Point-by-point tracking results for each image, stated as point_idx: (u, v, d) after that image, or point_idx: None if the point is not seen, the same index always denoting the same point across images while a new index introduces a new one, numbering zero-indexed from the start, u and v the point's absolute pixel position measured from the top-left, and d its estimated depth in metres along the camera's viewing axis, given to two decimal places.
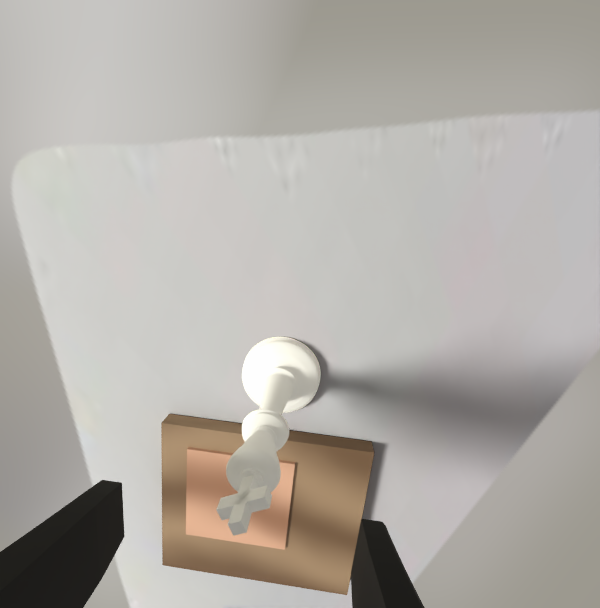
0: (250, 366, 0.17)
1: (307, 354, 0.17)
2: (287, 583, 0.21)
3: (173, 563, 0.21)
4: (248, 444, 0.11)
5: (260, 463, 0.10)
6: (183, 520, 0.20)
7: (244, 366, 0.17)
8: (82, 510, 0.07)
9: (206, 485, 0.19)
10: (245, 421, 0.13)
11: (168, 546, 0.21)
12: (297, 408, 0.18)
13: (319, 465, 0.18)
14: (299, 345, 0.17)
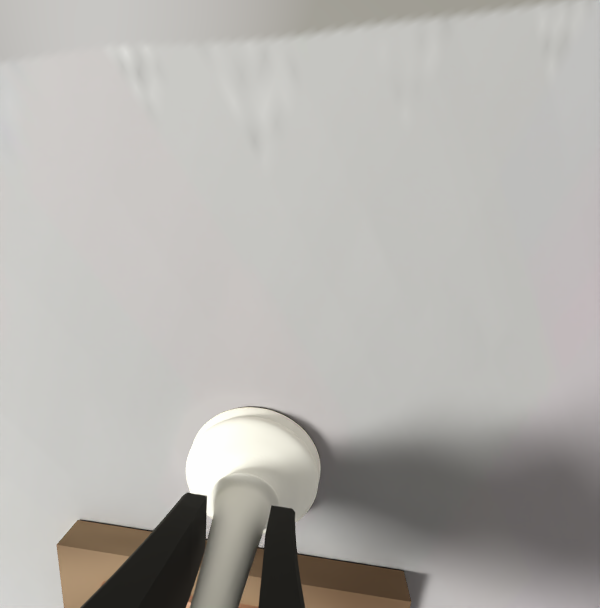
0: (198, 461, 0.10)
1: (297, 442, 0.10)
2: None
3: None
4: None
5: None
6: None
7: (189, 459, 0.10)
8: (181, 525, 0.07)
9: None
10: None
11: None
12: None
13: None
14: (283, 425, 0.10)
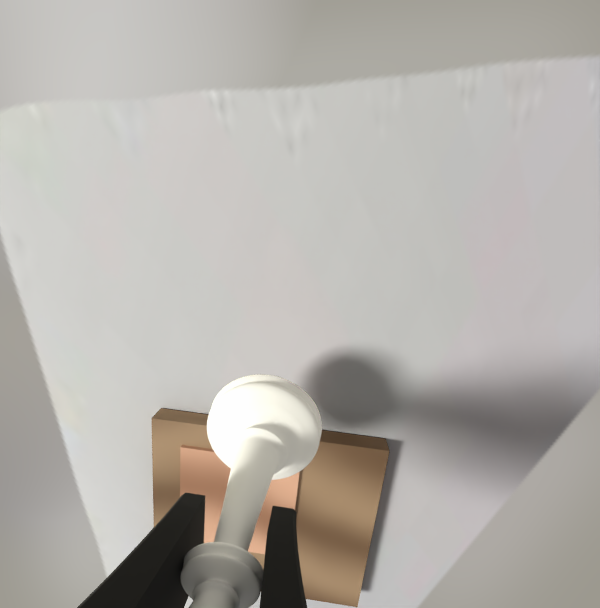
0: (218, 417, 0.12)
1: (304, 406, 0.11)
2: None
3: None
4: None
5: None
6: None
7: (210, 415, 0.12)
8: (179, 525, 0.07)
9: (202, 487, 0.17)
10: (187, 562, 0.07)
11: None
12: (284, 477, 0.12)
13: (327, 465, 0.16)
14: (293, 391, 0.12)
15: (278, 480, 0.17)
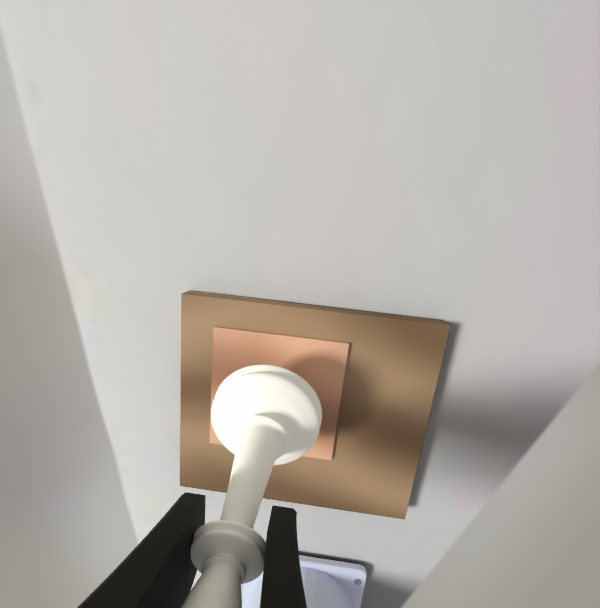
0: (222, 405, 0.12)
1: (305, 395, 0.12)
2: (332, 506, 0.17)
3: (193, 483, 0.17)
4: None
5: None
6: (206, 425, 0.16)
7: (214, 403, 0.12)
8: (179, 525, 0.07)
9: None
10: (196, 539, 0.07)
11: (187, 461, 0.17)
12: (286, 462, 0.13)
13: (379, 345, 0.15)
14: (294, 380, 0.12)
15: (323, 364, 0.15)
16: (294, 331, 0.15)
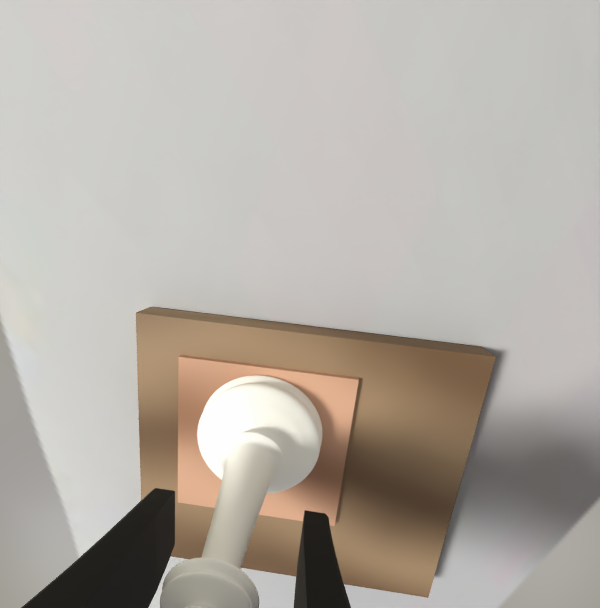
0: (210, 421, 0.11)
1: (304, 409, 0.10)
2: None
3: None
4: None
5: None
6: (173, 480, 0.13)
7: (201, 419, 0.11)
8: (144, 519, 0.07)
9: None
10: (168, 582, 0.06)
11: None
12: (281, 490, 0.11)
13: (398, 382, 0.11)
14: (292, 393, 0.11)
15: (324, 406, 0.11)
16: (285, 362, 0.11)
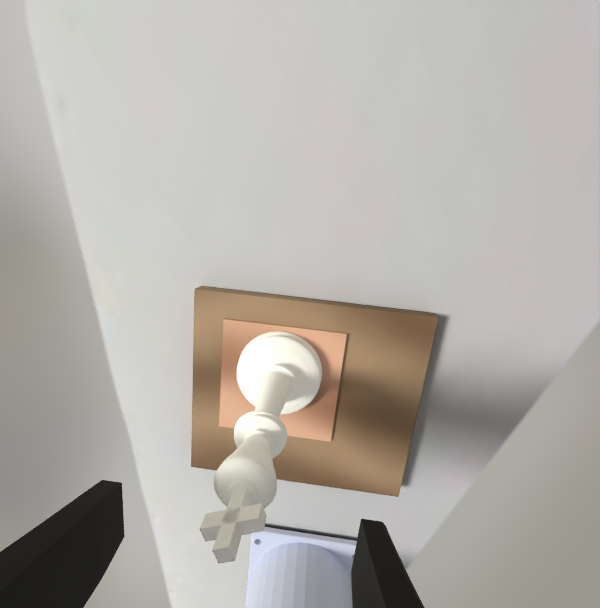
0: (246, 361, 0.16)
1: (309, 352, 0.16)
2: (331, 485, 0.19)
3: (203, 464, 0.19)
4: (242, 451, 0.09)
5: (254, 475, 0.09)
6: (216, 410, 0.18)
7: (240, 361, 0.16)
8: (83, 510, 0.07)
9: None
10: (239, 423, 0.11)
11: (198, 443, 0.19)
12: (294, 410, 0.16)
13: (374, 335, 0.16)
14: (301, 342, 0.16)
15: (323, 353, 0.16)
16: (296, 322, 0.16)
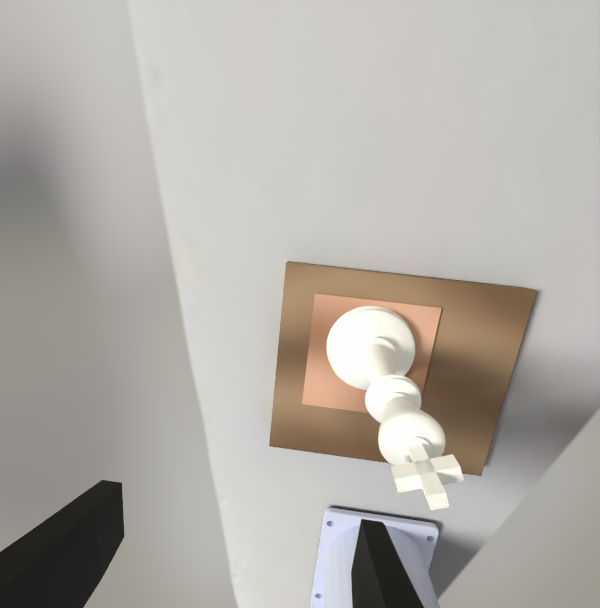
0: (341, 335, 0.16)
1: (406, 326, 0.15)
2: None
3: (282, 443, 0.19)
4: (405, 408, 0.09)
5: (428, 430, 0.09)
6: (299, 387, 0.18)
7: (333, 335, 0.16)
8: (82, 510, 0.07)
9: None
10: (373, 387, 0.11)
11: (278, 422, 0.18)
12: None
13: (468, 310, 0.16)
14: (396, 316, 0.16)
15: (415, 328, 0.16)
16: (389, 297, 0.16)
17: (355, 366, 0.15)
